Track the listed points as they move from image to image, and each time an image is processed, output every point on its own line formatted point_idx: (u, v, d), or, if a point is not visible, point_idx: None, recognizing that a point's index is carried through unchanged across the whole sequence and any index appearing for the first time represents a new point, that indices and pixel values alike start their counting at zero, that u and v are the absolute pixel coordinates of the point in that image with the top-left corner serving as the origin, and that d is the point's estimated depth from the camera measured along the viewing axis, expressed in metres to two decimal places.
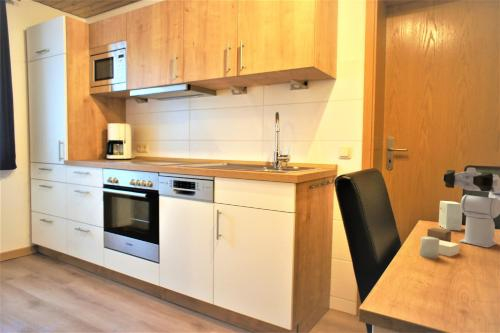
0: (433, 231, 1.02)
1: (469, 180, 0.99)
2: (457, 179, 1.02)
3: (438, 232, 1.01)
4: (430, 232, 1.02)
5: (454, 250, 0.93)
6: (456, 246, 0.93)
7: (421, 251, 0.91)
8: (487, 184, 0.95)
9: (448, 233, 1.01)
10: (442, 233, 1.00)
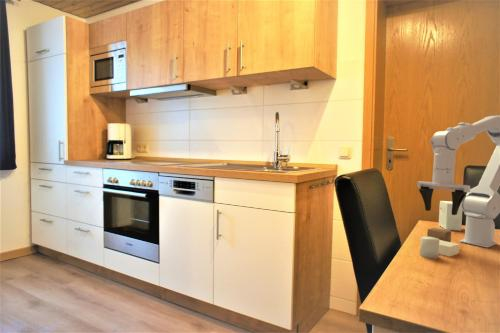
0: (433, 231, 1.02)
1: None
2: (432, 188, 1.04)
3: (438, 232, 1.01)
4: (430, 232, 1.02)
5: (454, 250, 0.93)
6: (456, 246, 0.93)
7: (421, 251, 0.91)
8: None
9: (448, 233, 1.01)
10: (442, 233, 1.00)
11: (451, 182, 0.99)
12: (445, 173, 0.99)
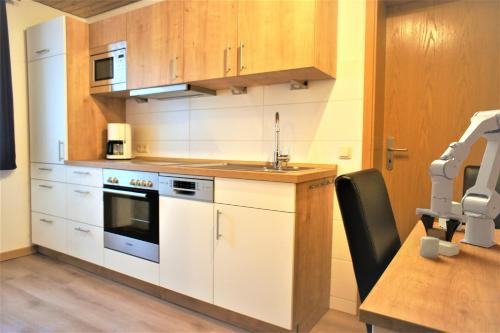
0: (433, 231, 1.02)
1: None
2: None
3: (438, 232, 1.00)
4: (430, 232, 1.02)
5: (453, 250, 0.93)
6: (456, 246, 0.93)
7: (421, 251, 0.91)
8: None
9: None
10: (442, 233, 1.00)
11: (449, 211, 1.00)
12: (443, 202, 1.00)
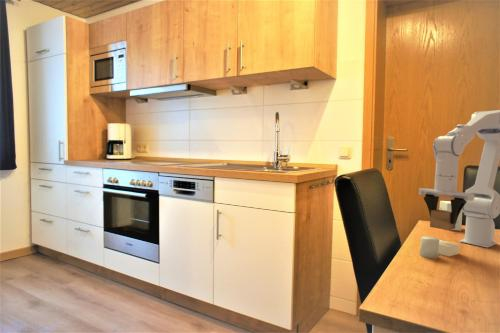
0: (437, 212, 0.96)
1: None
2: None
3: (442, 213, 0.95)
4: (433, 213, 0.97)
5: (453, 250, 0.93)
6: (456, 246, 0.93)
7: (421, 251, 0.91)
8: None
9: None
10: (446, 214, 0.94)
11: (454, 190, 0.94)
12: (448, 180, 0.94)
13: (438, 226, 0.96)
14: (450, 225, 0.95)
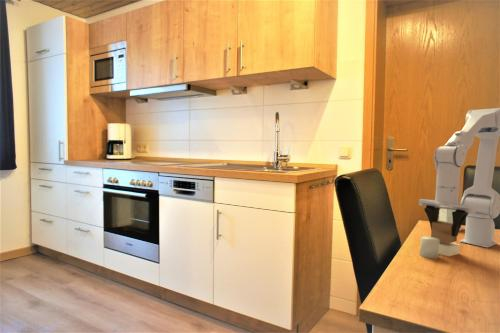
0: (438, 224, 0.94)
1: None
2: None
3: (443, 225, 0.93)
4: (435, 225, 0.95)
5: (453, 250, 0.93)
6: (456, 246, 0.93)
7: (421, 251, 0.91)
8: None
9: None
10: (448, 226, 0.92)
11: (455, 201, 0.92)
12: (449, 192, 0.92)
13: (439, 239, 0.94)
14: (452, 237, 0.93)
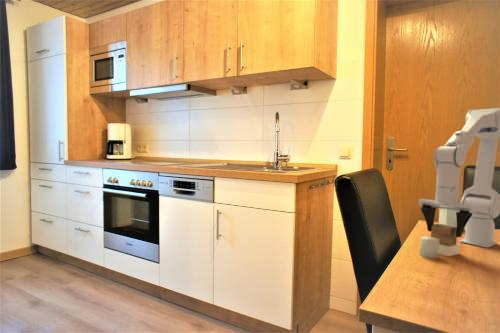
0: (437, 227, 0.94)
1: None
2: (434, 207, 0.97)
3: (443, 228, 0.93)
4: (434, 228, 0.95)
5: (453, 250, 0.93)
6: (456, 246, 0.93)
7: (421, 251, 0.91)
8: None
9: (454, 229, 0.93)
10: (447, 229, 0.92)
11: (455, 201, 0.92)
12: (449, 192, 0.92)
13: (439, 242, 0.94)
14: (452, 240, 0.93)
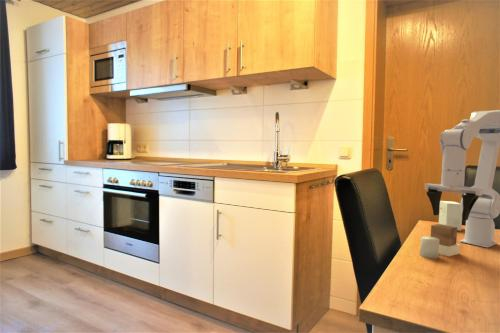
0: (437, 227, 0.94)
1: None
2: (440, 191, 0.97)
3: (442, 228, 0.93)
4: (434, 228, 0.95)
5: (453, 250, 0.93)
6: (456, 246, 0.93)
7: (421, 251, 0.91)
8: None
9: (453, 229, 0.93)
10: (447, 229, 0.92)
11: (461, 184, 0.92)
12: (455, 175, 0.92)
13: None
14: (451, 240, 0.93)
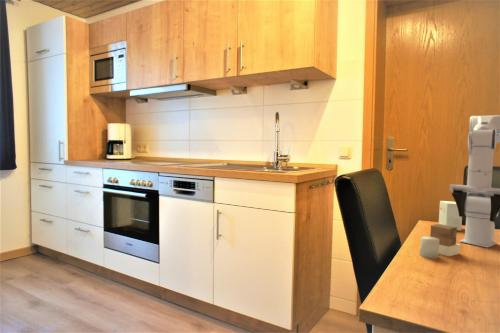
0: (437, 227, 0.94)
1: None
2: (466, 192, 0.96)
3: (442, 228, 0.93)
4: (434, 228, 0.95)
5: (453, 250, 0.93)
6: (456, 246, 0.93)
7: (421, 251, 0.91)
8: None
9: (453, 230, 0.93)
10: (447, 229, 0.92)
11: (489, 185, 0.91)
12: (482, 176, 0.91)
13: None
14: (451, 241, 0.93)
